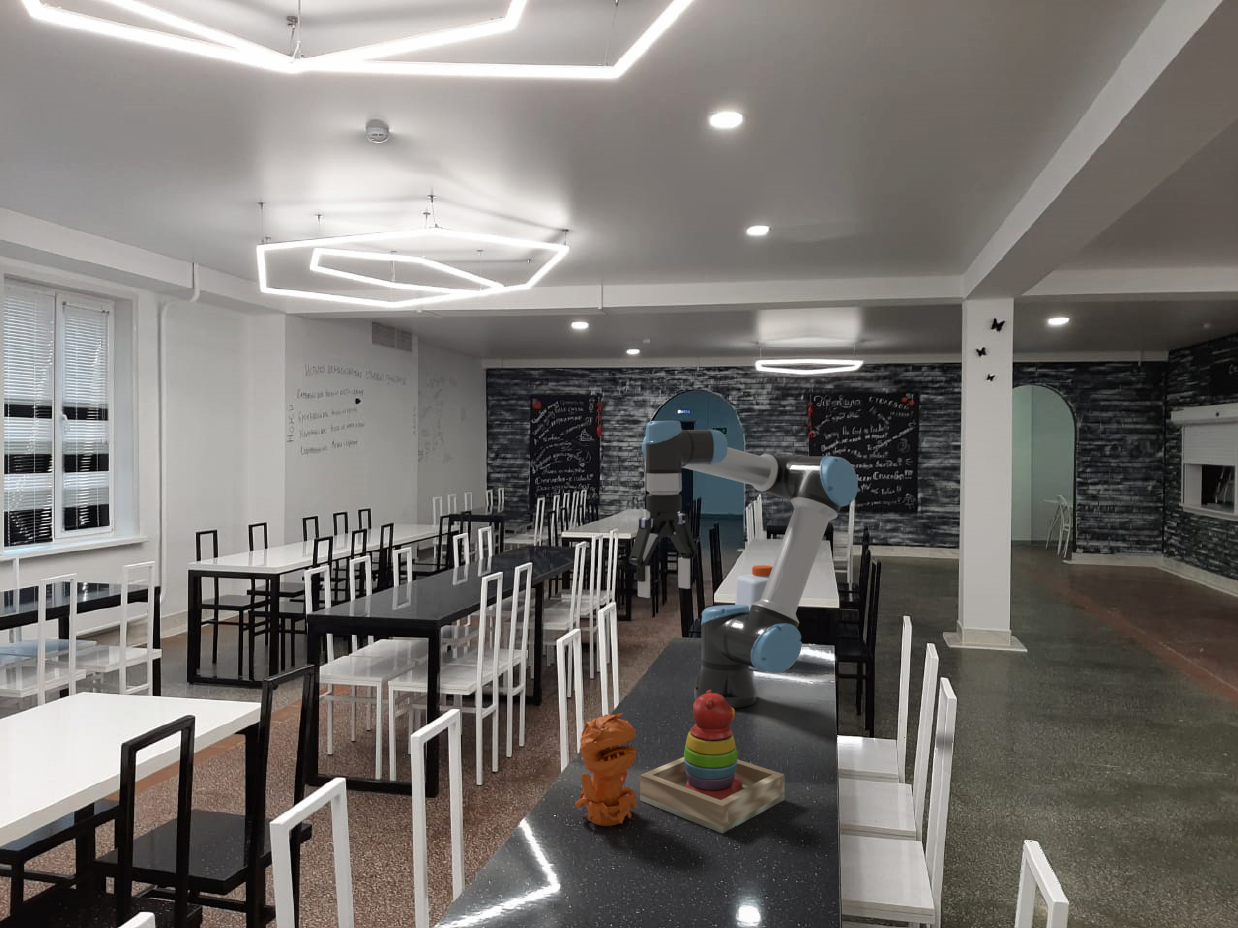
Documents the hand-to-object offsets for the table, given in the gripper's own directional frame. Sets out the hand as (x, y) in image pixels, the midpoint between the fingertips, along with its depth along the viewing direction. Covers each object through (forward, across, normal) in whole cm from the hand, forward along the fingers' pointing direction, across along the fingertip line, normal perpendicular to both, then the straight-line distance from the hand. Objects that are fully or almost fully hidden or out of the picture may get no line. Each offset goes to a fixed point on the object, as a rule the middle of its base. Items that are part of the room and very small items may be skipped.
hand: (664, 592), depth 178 cm
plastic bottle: (+32, -66, -18) cm, 75 cm away
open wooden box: (+31, +20, +26) cm, 45 cm away
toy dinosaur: (+31, +37, +18) cm, 52 cm away
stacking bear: (+30, +20, +26) cm, 45 cm away
